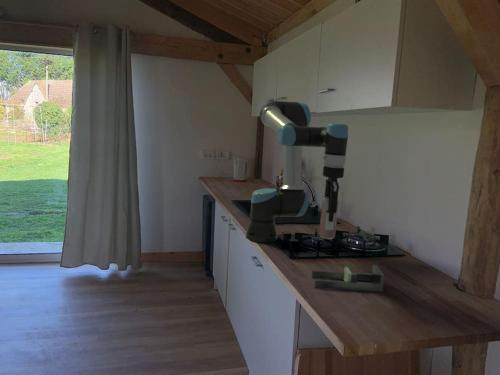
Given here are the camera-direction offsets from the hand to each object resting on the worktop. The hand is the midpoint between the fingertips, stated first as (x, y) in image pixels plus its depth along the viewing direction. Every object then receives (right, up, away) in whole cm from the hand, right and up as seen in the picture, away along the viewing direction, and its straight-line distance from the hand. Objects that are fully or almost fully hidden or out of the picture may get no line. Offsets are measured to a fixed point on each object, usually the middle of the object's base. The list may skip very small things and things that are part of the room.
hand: (327, 226), depth 151 cm
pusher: (+6, -19, -9) cm, 22 cm away
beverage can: (0, -4, +1) cm, 4 cm away
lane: (+4, -19, -9) cm, 22 cm away
